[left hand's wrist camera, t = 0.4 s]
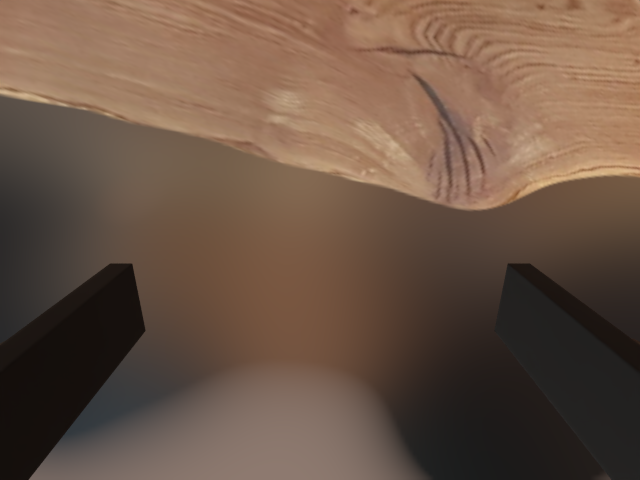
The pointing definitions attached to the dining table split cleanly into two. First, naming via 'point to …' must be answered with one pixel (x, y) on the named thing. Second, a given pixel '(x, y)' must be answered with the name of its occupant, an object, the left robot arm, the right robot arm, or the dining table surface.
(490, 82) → the dining table surface
